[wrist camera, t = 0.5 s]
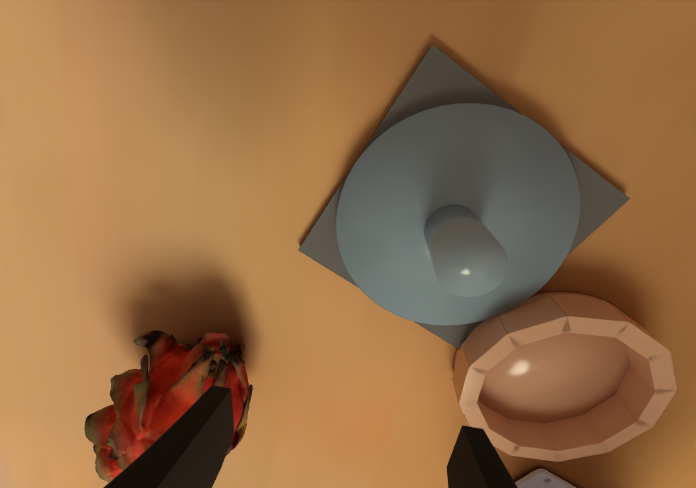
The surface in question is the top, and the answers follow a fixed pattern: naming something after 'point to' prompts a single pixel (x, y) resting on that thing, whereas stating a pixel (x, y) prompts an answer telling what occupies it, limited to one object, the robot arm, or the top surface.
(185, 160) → the top surface
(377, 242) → the lid
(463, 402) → the bowl
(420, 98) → the mat
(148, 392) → the dragon fruit
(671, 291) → the top surface
